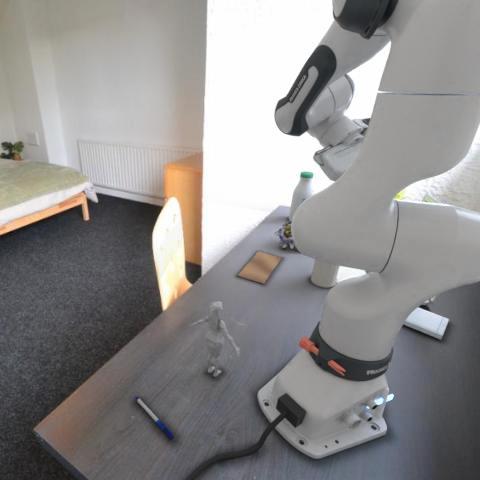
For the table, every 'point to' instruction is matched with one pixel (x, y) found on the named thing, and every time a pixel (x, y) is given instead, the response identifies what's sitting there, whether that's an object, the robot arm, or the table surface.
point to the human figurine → (216, 335)
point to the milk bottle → (301, 192)
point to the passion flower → (286, 235)
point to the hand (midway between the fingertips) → (385, 175)
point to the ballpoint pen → (155, 418)
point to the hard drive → (427, 322)
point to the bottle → (324, 274)
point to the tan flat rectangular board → (260, 267)
